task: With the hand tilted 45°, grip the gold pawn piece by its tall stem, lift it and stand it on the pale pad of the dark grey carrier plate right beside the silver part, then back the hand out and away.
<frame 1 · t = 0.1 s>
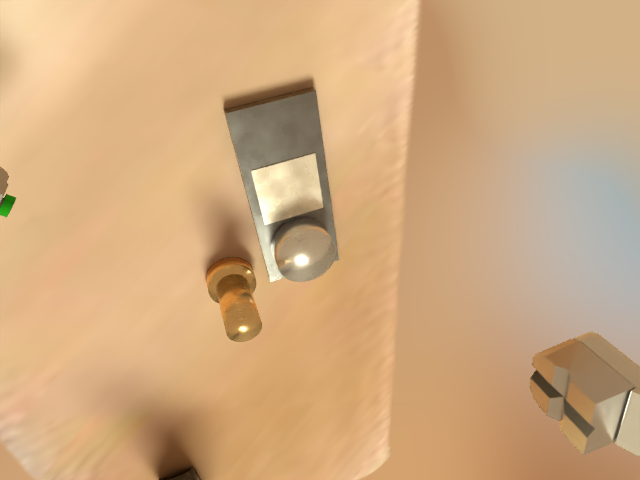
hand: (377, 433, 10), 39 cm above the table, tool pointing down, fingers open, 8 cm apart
carrier plate: (288, 193, 52), on the table
gold pawn piece: (229, 276, 56), on the table
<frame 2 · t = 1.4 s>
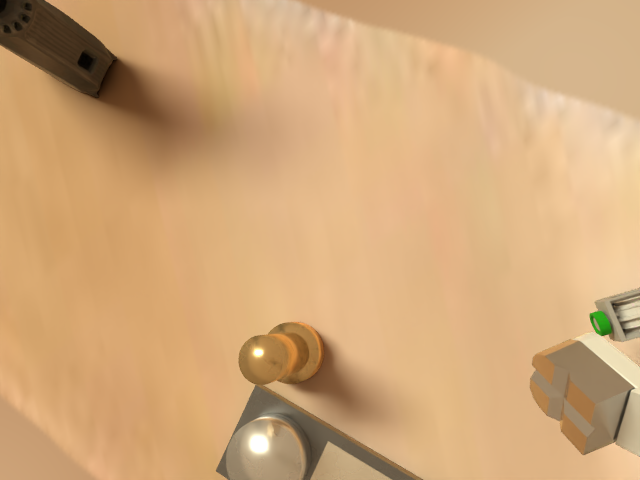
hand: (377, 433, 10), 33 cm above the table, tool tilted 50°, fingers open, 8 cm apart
mechanical component: (626, 304, 39), on the table
gold pawn piece: (296, 351, 45), on the table
handheld device: (77, 71, 59), on the table
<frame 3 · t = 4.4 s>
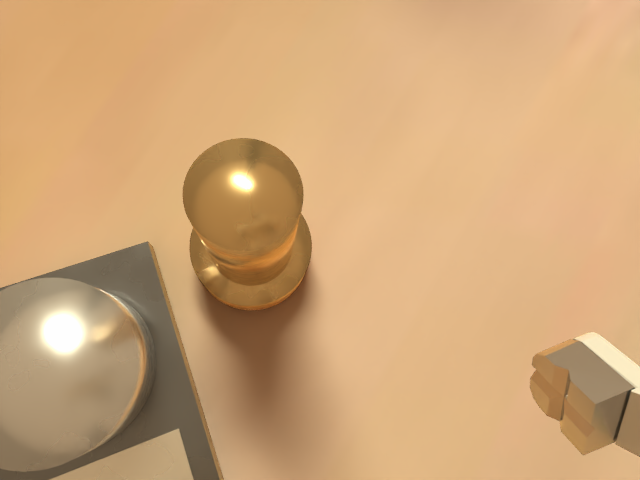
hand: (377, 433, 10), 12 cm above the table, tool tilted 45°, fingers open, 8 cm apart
gold pawn piece: (252, 254, 24), on the table
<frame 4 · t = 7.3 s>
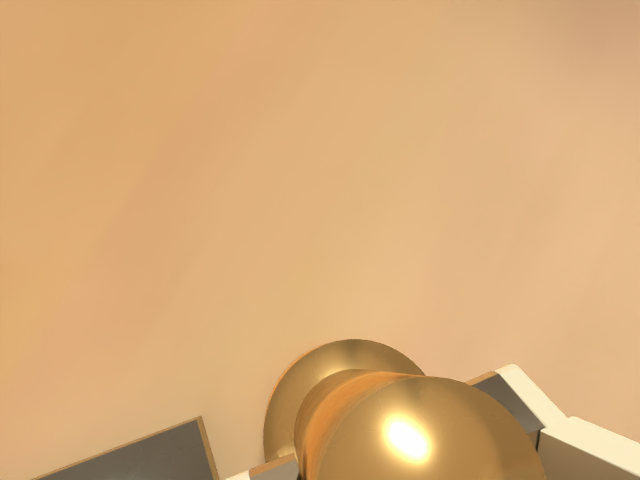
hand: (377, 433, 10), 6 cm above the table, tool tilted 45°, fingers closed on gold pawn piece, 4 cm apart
gold pawn piece: (346, 425, 16), on the table, touching gripper
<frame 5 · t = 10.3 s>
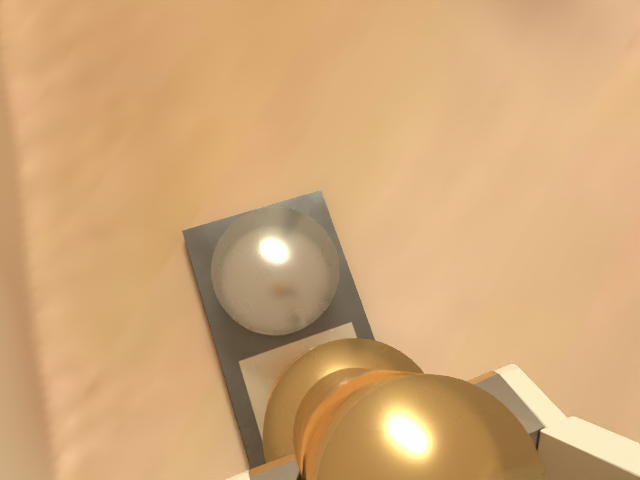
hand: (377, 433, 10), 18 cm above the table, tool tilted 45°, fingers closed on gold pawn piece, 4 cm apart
carrier plate: (308, 382, 28), on the table
gold pawn piece: (345, 424, 16), point 12 cm above the table, touching gripper
when the fingers open (8 cm above the table, at t = 13.2 s): gold pawn piece stays where it is, resting on carrier plate.
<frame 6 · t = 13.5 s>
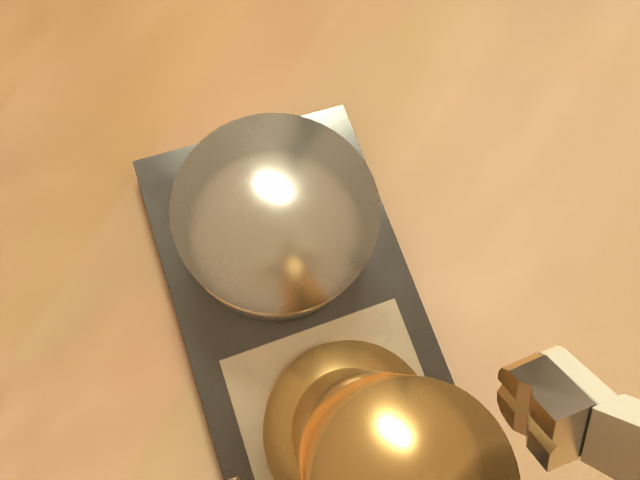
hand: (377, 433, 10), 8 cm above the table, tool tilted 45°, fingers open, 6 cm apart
carrier plate: (328, 392, 18), on the table
gold pawn piece: (341, 421, 17), point 1 cm above the table, touching carrier plate
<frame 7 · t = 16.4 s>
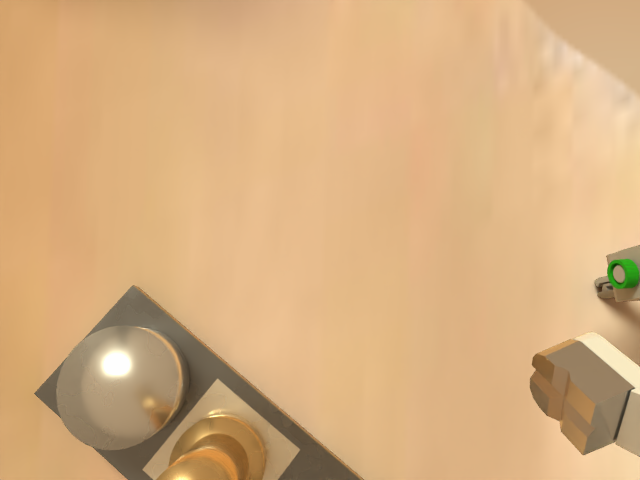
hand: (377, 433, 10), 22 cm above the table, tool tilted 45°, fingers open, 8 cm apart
carrier plate: (213, 445, 31), on the table
mechanical component: (601, 288, 34), on the table
gold pawn piece: (221, 459, 29), point 1 cm above the table, touching carrier plate
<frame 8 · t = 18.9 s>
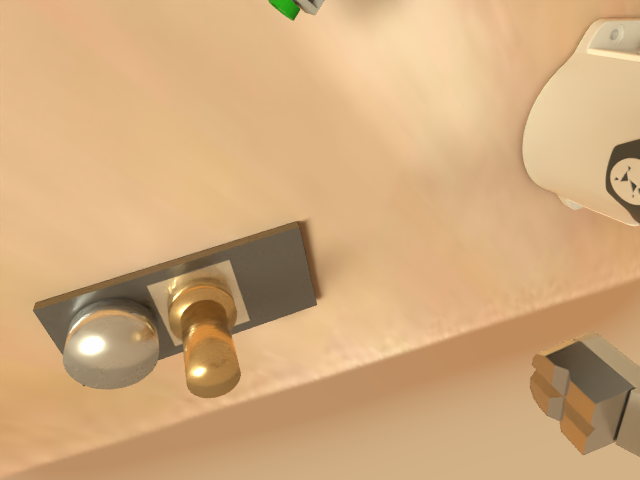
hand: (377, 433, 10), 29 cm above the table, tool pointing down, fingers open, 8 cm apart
carrier plate: (189, 300, 42), on the table
gold pawn piece: (201, 304, 41), point 1 cm above the table, touching carrier plate
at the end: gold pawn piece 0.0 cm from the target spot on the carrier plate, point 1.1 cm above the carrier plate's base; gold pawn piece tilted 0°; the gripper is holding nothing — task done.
